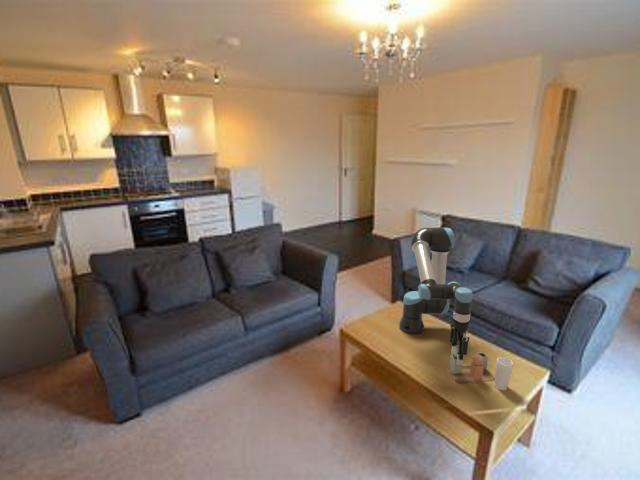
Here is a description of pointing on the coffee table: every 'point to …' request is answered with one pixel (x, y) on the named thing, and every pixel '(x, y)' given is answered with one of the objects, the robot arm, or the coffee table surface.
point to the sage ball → (455, 351)
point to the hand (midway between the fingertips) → (456, 360)
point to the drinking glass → (503, 372)
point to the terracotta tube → (476, 371)
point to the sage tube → (454, 365)
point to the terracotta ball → (478, 359)
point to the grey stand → (484, 359)
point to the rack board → (466, 378)
